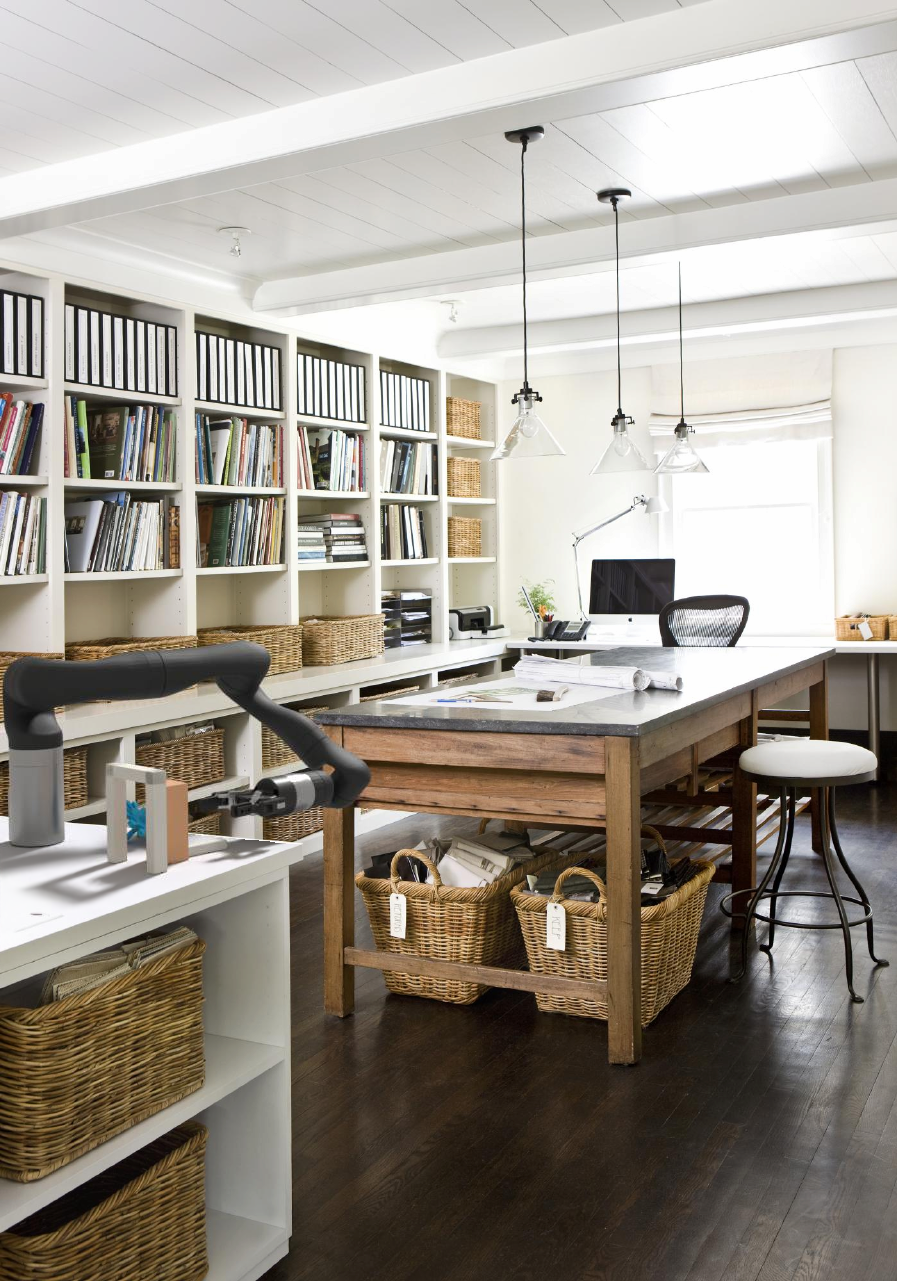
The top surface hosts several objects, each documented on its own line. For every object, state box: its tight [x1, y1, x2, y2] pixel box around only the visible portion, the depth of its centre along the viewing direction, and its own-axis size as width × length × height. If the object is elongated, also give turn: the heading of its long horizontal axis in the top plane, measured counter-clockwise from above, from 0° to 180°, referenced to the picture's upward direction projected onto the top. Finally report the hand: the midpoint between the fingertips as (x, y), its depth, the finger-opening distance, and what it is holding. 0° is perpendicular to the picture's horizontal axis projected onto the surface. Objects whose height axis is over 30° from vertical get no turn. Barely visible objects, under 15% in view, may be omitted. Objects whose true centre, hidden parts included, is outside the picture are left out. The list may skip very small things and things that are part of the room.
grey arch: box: [105, 761, 168, 875], centre depth 189 cm, size 13×2×16 cm, turn 50°
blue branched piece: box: [126, 799, 146, 842], centre depth 207 cm, size 11×6×10 cm
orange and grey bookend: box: [144, 779, 228, 865], centre depth 197 cm, size 5×14×13 cm, turn 137°
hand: (215, 808), depth 202 cm, fingers open, 8 cm apart
